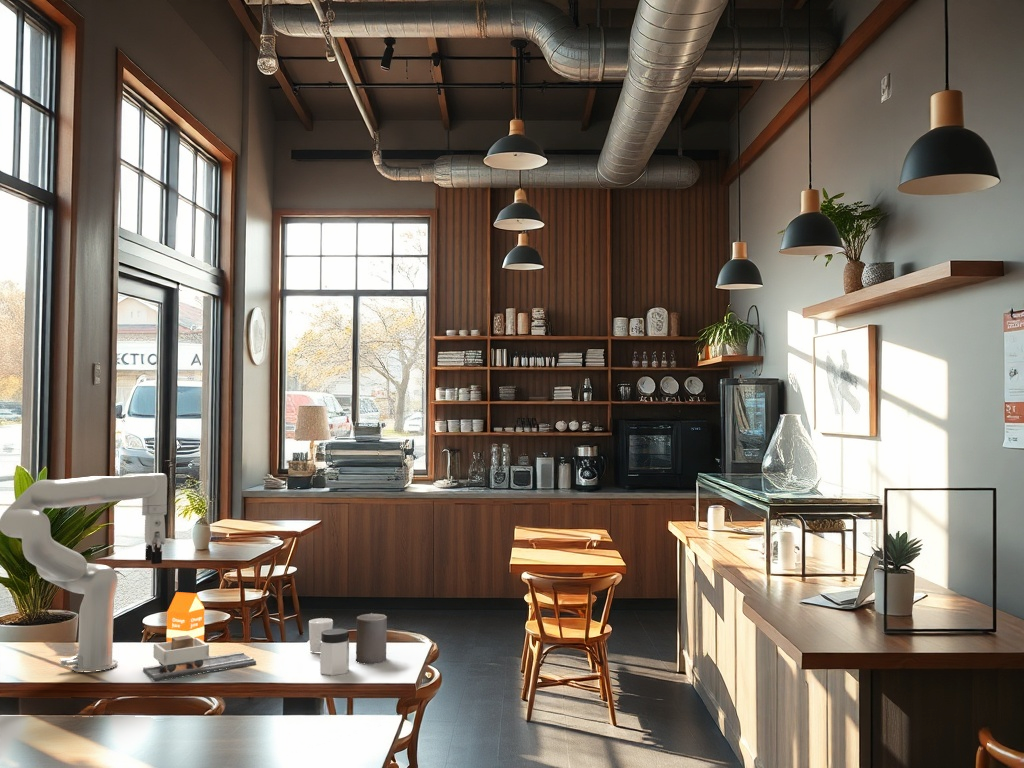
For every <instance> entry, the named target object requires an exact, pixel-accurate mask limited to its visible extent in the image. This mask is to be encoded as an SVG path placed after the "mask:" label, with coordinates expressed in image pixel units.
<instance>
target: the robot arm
mask: <svg viewBox="0 0 1024 768" xmlns="http://www.w3.org/2000/svg"><path fill="white" fill-rule="evenodd" d="M167 496H168V477H167V474H166V473H162V472H160V473H159V472H156V473H155V472H153V473H126V474H123V475H121V476H105V475H102V476H101V475H99V476H98V475H93V476H83V477H75V478H66V479H65V478H64V479H41V480H40V479H39V480H37V481H35V482H34V483H32V484H31V485H30V486H29V487H28V488H26V489H25V490H24V492H22V493H21V494H20V496H18V497H17V498H16V500H15V501H13V502H12V504H10V505H9V506H8V507H7V508H6V510H5V511H4V512H3V513H2V514H1V516H0V532H1V533H2V534H3V535H5V536H6V537H9V538H13V539H14V538H15V539H21V548H22V554H23V555H24V556H23V557H24V558H25V560H27V562H29V564H32V565H33V566H35V568H36V571H37V574H38V575H39V576H40V577H41V578H42V579H43V580H45V581H47V582H49V583H52V584H53V585H56V586H58V587H59V588H62V589H64V590H66V591H69V592H71V593H74V594H81V595H84V596H83V598H82V601H81V603H80V606H79V613H78V618H79V619H78V651H77V652H76V653H75V656H72V657H70V658H60V666H61V667H62V666H66V667H69V666H72V667H71V670H74V671H83V672H84V671H96V670H104V669H109V670H111V669H110V668H112V669H114V668H116V667H117V666H118V663H119V662H118V660H116V659H113V641H114V638H113V637H114V636H113V635H114V607H115V606H114V605H115V596H116V592H117V591H116V590H117V588H118V574H117V572H116V571H115V570H114V569H113V568H112V567H111V566H109V565H105V564H102V563H101V564H100V563H89V562H88V561H87V560H86V557H84V556H83V555H82V554H81V553H79V552H78V551H75V550H74V549H73V550H72V549H71V548H69V547H66V546H65V545H62V544H61V543H59V542H58V541H56V540H54V539H53V537H52V534H51V522H50V519H49V517H48V515H47V514H46V513H44V512H43V511H44V509H62V508H63V509H64V508H71V507H76V506H85V505H87V506H88V505H93V504H104V503H105V504H106V503H111V502H118V501H130V500H131V501H132V500H137V499H142V501H141V502H142V505H141V506H142V507H141V510H142V511H141V514H142V515H141V516H144V517H145V519H144V542H145V558H144V559H145V561H146V562H148V561H150V564H151V565H159V564H162V563H163V547H162V546H163V545H166V523H165V522H166V521H165V516H166V515H167V512H168V511H167V509H168V508H167V507H168V505H167V503H168V502H167V501H168V498H167ZM115 666H116V667H115ZM113 667H114V668H113ZM74 671H73V672H74Z"/></svg>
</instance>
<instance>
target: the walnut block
mask: <svg viewBox="0 0 1024 768" xmlns="http://www.w3.org/2000/svg"><path fill="white" fill-rule="evenodd" d="M189 647H193V638H192V637H191V636H189V635H185V636H178V637H172V644H171V650H175V649H182V648H189Z"/></svg>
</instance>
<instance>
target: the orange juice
mask: <svg viewBox="0 0 1024 768" xmlns="http://www.w3.org/2000/svg"><path fill="white" fill-rule="evenodd" d="M166 613H167V614H166V642H171V641H172V637H178V636H185V635H189V636H191V637H192V638H198V639H200V640H202V641H203V642H205V641H204V640H205V607H204V605H203V602H202V601H201V599H200V597H199V595H198V593H195V592H194V593H193V592H183V591H182V592H181V591H180V592H179V591H176V592H175V595H174V597H173V598H172V601H171V603H170V605H169V608H168V609H167V611H166Z"/></svg>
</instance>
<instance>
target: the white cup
mask: <svg viewBox="0 0 1024 768" xmlns="http://www.w3.org/2000/svg"><path fill="white" fill-rule="evenodd" d="M333 626H334V620H333V619H332V618H328V617H327V618H326V617H324V618H323V617H320V618H313V619H310V620H309V621H308V634H309V635H308V638H309V644H310V645H309V647H310V649H309V651H312V652H321V633H322V631H324V630H328V629H334V628H333ZM312 652H311V653H312Z"/></svg>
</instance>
